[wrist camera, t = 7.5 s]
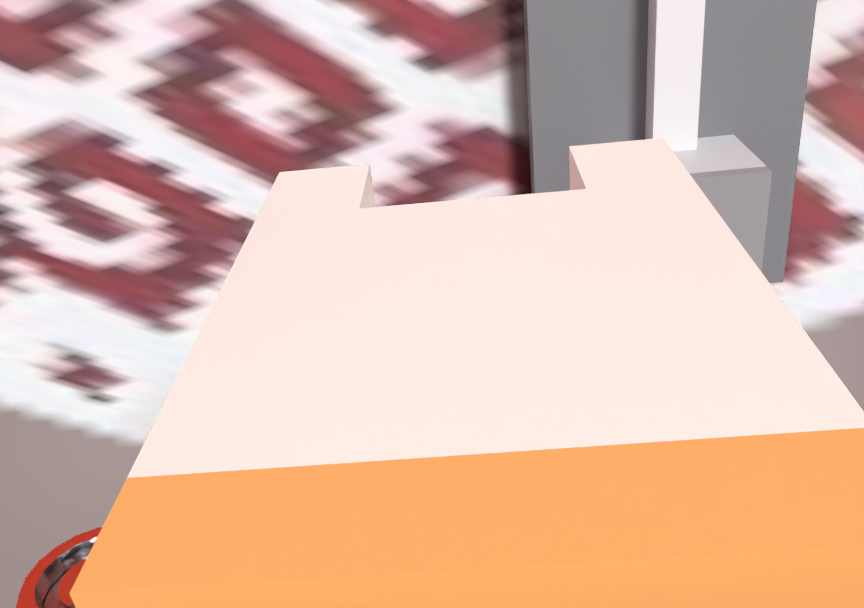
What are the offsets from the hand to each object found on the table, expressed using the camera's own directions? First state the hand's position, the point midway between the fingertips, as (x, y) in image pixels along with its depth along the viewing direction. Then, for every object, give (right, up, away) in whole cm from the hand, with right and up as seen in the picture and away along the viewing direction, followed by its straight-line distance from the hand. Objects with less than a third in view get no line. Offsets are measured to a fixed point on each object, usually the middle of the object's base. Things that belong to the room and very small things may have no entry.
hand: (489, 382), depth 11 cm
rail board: (+8, +8, +21) cm, 24 cm away
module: (0, 0, +1) cm, 1 cm away
